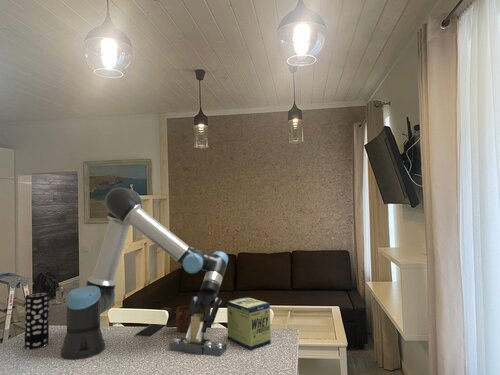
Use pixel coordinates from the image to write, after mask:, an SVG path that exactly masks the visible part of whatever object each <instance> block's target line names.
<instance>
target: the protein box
mask: <svg viewBox="0 0 500 375" xmlns="http://www.w3.org/2000/svg"><path fill="white" fill-rule="evenodd" d="M226 304H227V305H226V312H227V313H226V314H227V315H226V316H227V317H226V318H227V319H226V320H227V321H226V322H227V340H228V341H230V342H233V343H234V344H236V345H239V346H240V347H243V348H245V349H247V350H249V351H253V350H255V349H256V350H257V349H258V348H263V347H265V346H267V345H271V344H272V339H271V338H272V336H271V303H270V302H266V301H262V300H258V299H255V298H252V297H247V296H245V297H240V298H236V299H232V300H231V299H230V300H227V302H226ZM270 343H271V344H270Z"/></svg>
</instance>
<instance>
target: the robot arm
mask: <svg viewBox="0 0 500 375" xmlns="http://www.w3.org/2000/svg"><path fill="white" fill-rule="evenodd" d="M142 205H143V200H142V197H141V196H140V194H139V193H138V192H137V191H135V190H133V189H130V188H125V187H116V188H115V187H114V188H112V189H110V190H109V192H107V193H106V196H105V198H104V206H105V208H106V209H107V210H106V211H107V214H106V217H107V219H108V225H107V229H106V232H105V234H104V238H103V240H102V245H101V248H100V251H99V254H98V257H97V260H96V265H95V267H94V270H93V274H92V275H91V276H89V277H88V278H87V281H86V284H85V286H79V287H76V288H74V289H72V290H70V291H69V292H68V294H67V297H66V334H65V337H64V341H63V345H62V346H61V350H60V357H61V358H63V359H65V360H66V359H67V360H80V359H85V358H91V357H94V356H96V355H98V354H101V353H102V352H103V351H104V350H105V348H106V342H105V341H106V340H105V339H104V337H103V333H102V330H101V314H102V313H103V312H105V310H108V309H109V307H111V305H113V302H114V300H115V298H116V292H115V291H116V290H115V288H116V285H117V282H116V281H115V277H116V272H117V268H118V266H119V263H120V260H121V256H122V252H123V248H124V247H125V242H126V239H127V236H128V233H129V229H130V226H131V227H132V228H134V229H135V230H137V232H139V233H141V235H143V236H144V237H145V238H147V239H148V240H149V241H151V242H152V243H153V244H154V245H155V246H157V247H158V248H160V249H161V250H162V251H163V252H165V253H166V254H167V255H168V256H170V257H171V259H173V260H175V261H176V262H177V263H179V264H180V265H181V266H182V267H183V269H184V271H185V272H186V273H188V274H197V273H199V271H200V270H202V271H205V275H204V278H203V280H202V284H201V286H200V289H199V292H198V293H197V296H190V303H189V305H188V306H189V309H188V312H187V315H186V319H187V321H188V322H189V324H188V326H187V330H188V332H186V335H185V337H184V338H185V339H187V340H188V341H190V339H191V316H192V315H194V314H201V311H202V309H203V308H204V307H205V309H204V320H203V321H204V322H201V325H200V328H199V331H198V334H197V337H196V339H197V341H198V342H201V338H202V335H203V333H204V334H205V333H206V332H207V329H208V326H209V325H213V324H214V322H215V319H216V316H217V314H218V311H219V309H220V306H221V305H222V304H223V301H222V299H221V298H220V297H218V295H219V292H220V287H221V285H222V282H223V279H224V275H225V273H226V269H227V266H228V262H229V256H228V254H226V253H225V252H224V251H222V250H221V251H218V250H217V251H214V252H213V253H209V252H206V251H203V250H200V249H198V248H195V247H191V246H189V245H188V244H187V243H186V242H185V241H183V240H182V239H181V238H179V237H178V236H177V235H175V233H173V232H172V231H170V230H169V229H168V228H167V227H165V226H164V225H163V224H161V222H159V221H158V220H156V218H155V217H153V216H152V215H150V214H149V213H148V212H146V211H145V210H144V209H143V208H142ZM212 306H213V307H212Z"/></svg>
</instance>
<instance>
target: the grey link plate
mask: <svg viewBox="0 0 500 375" xmlns="http://www.w3.org/2000/svg"><path fill="white" fill-rule="evenodd" d="M168 349H169V350H168V351H175V352H184V353H185V354H194V355H201V356H202V355H208V356H209V355H211V356H218V357H221V356H223V354H224V353H225V352H226V351H227V350H228V346H227V342H222V341H214V340H213V341H212V340H211V338H204V344H203V345H197V344H191V339H190V341H188V340H187V339H186V338H185V337H184V338H183V337H174V338H173V340H172V341H170V342H169V343H168Z"/></svg>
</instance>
